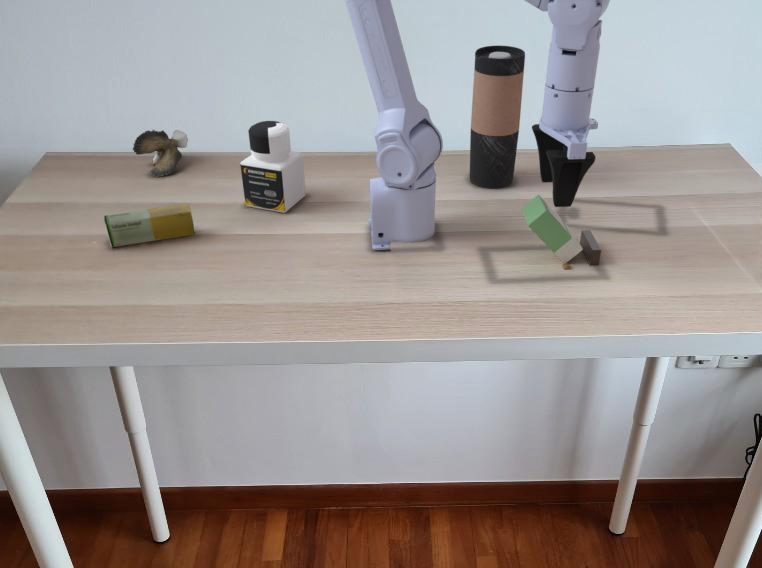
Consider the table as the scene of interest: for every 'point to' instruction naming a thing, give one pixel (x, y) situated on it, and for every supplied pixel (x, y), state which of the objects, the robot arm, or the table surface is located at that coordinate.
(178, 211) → the medication box
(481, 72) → the travel mug
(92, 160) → the table surface
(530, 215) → the block
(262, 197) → the medicine bottle
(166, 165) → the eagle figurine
